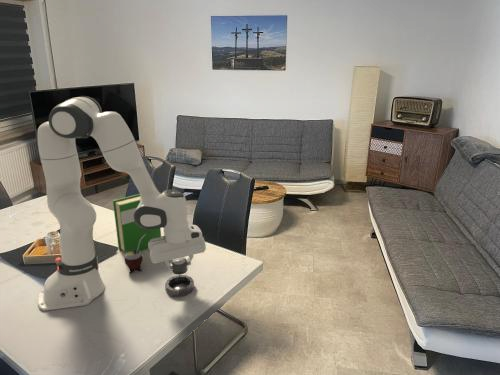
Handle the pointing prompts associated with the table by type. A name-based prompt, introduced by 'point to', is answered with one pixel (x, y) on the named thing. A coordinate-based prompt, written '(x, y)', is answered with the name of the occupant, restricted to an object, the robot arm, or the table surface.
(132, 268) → the mate gourd
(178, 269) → the cap
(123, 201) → the hardback book
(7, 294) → the table surface
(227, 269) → the table surface
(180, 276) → the grey ashtray
